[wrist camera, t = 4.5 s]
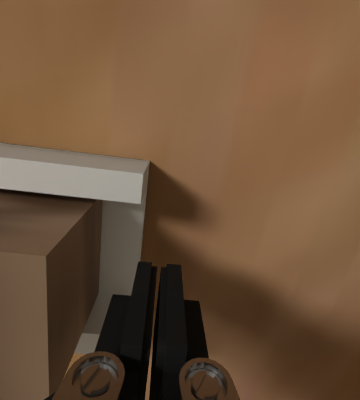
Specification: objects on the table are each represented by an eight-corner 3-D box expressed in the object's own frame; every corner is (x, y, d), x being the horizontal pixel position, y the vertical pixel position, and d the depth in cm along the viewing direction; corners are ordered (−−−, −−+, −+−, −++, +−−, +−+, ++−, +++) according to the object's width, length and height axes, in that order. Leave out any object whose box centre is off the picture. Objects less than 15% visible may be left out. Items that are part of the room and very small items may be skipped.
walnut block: (102, 193, 13) (45, 256, 7) (98, 293, 14) (49, 411, 9) (-30, 178, 12) (-206, 232, 7) (-19, 283, 14) (-152, 400, 8)
